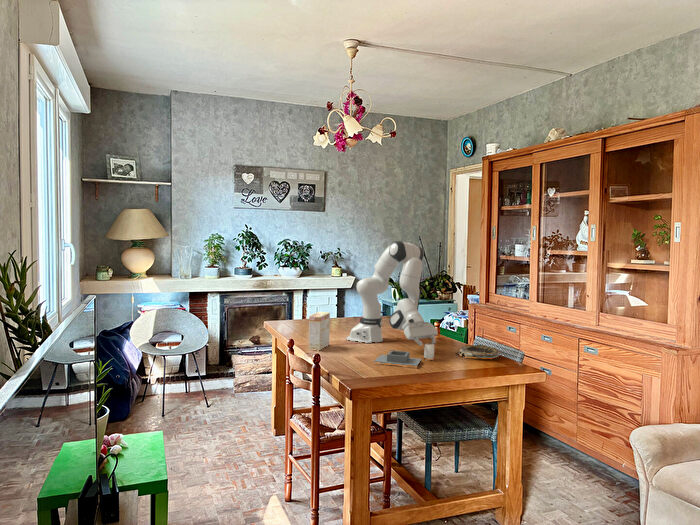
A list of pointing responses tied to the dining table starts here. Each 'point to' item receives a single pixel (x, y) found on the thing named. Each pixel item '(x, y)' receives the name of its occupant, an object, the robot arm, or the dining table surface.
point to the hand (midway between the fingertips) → (427, 344)
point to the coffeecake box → (319, 330)
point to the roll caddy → (398, 358)
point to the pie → (480, 351)
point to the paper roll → (429, 351)
